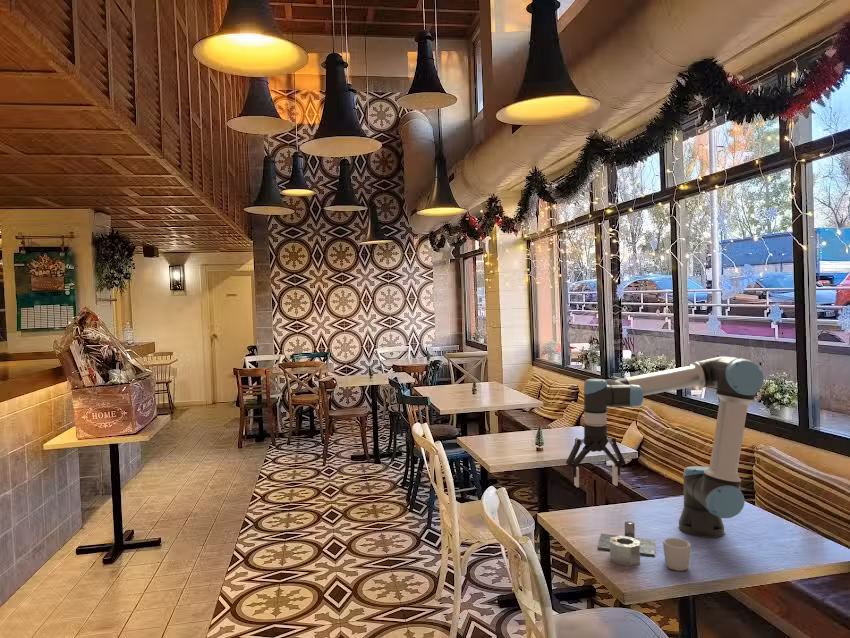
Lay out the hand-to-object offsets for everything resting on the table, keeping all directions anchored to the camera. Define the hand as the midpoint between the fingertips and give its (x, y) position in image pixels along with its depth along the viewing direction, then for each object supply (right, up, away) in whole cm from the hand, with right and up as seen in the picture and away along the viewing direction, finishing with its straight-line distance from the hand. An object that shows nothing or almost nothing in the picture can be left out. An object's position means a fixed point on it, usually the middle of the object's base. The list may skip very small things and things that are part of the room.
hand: (595, 485), depth 204 cm
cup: (+20, -21, -17) cm, 34 cm away
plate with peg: (+11, -21, -1) cm, 24 cm away
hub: (+6, -21, -12) cm, 25 cm away
